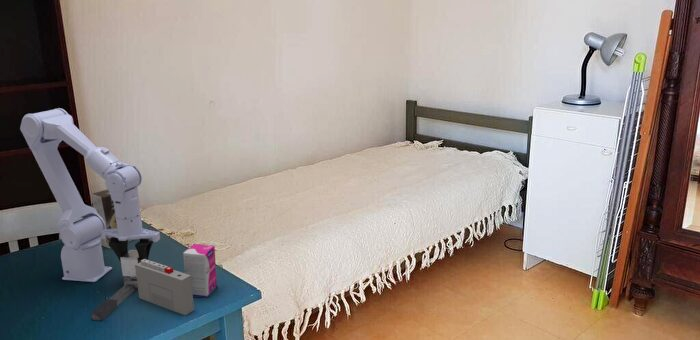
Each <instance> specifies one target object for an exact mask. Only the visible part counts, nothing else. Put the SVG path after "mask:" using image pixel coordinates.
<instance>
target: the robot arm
mask: <svg viewBox="0 0 700 340" xmlns="http://www.w3.org/2000/svg"><path fill="white" fill-rule="evenodd" d="M74 123H75V122H74V119H73V116H72V115H71V114H69V113H68V112H67V111H66V110H65V109H64V108H60V107H58V108H57V107H56V108H54V109H49V110H45V111H40V112H34V113H27V114H25V115H24V116H23V117H22V119H21V123H20V127H19V129H20V132H21V133H22V135H23V137H24V139H25V142H26V143H27V146H28V147H29V150H30V151H31V152H32V154H33V156H34V158H35V161H36V162H37V164H38V167H39V168H40V171H41V172H42V175H43V176H44V178H45V180H46V182H47V184H48V187H49V189H50V190H51V192H52V195H53V197H54V198H55V200H56V202H57V204H58V206H59V208H60V210H61V212H62V215H61V216H60V218H59V220H58V222H57V223H56V224H57V227H58V230H59V234H60V239H61V241H62V243H63V244H64V245H63V246H62V248H61V252H60V259H61V267H62V271H63V277H62V278H61V279H62V280H64V281H75V282H77V281H78V282H87V283H88V282H89V283H95V282H97V281H99V280H100V279H101V278H102V277H104V276H105V275H106V274H107V273H108V272H110V271H111V270H113V266H105V261H104V252H103V248H102V245H101V240H102V239H107V238H111V241H110V242H109V243H108V244H109V247H111V250H112V251H113V252H114V254H115V255H116V257H117V259H118V261H119V264H121V259H120V257H121V256H122V255H124V254H125V253H127V252H128V251H129V250H128V248H129V247H128V246H129V245H128V244H129V242H128V239H133V240H132V241H138V242H136V243H134V248H135V250H137V252H138V255H139V260H140V262H141V260H143V259H146V260H149V257H150V253H151V249H152V246H153V244H154V243H157V242H158V241H160V240H161V233H160V231H156V230H155V231H154V230H150V229H146V228H143V220H142V215H141V206H140V198H139V190H138V187H139V186H140V185H141V184H142V181H143V180H142V179H143V177H142V173H141V171H140V170H139V168H137V167H136V166H135V165H134V164H130V163H129V164H127V163H126V162H122V161H121V160H120V159H119V158H117V157H116V156H115V154H113V153H112V152H110V150H109V149H108V148H107V147H104V146H96V145H95V144H94V142H92V141H91V140H90V139H89V138H88V137H87V136H86V135H85V134H84V133H83V132H82V131H81V130H80V129H79V128H78V127H77V126H76V125H75V124H74ZM62 141H63V142H65V144H67V145H68V146H70V147H71V148H72V149H74V150H75V151H76V152H78V153H80V154H81V155H82V156H84V157H85V164H86V165H87V166H88V167H89V168H90V169H91V170H92V171H94V172H95V173H96V174H98V176H99V177H101V178H102V179H103V180H104V184H105V185H104V186H105V187H106V190H107V189H108V190H109V192H110V195H111V198H112V200H113V201H114V208H115V215H116V223H117V229H106V224H105V222H104V220H103V219H102V217H101V216H100V215H99V214H98V213H97V211H96V209H95V208H93V206H90V205H87V204H85V203H84V201H83V198H82V196H81V194H80V192H79V190H78V188H77V186H76V185H75V182H74V181H73V179H72V177H71V175H70V173H69V170H68V169H67V166H66V164H65V162H64V160H63V158H62V156H61V155H60V152H59V150H58V147H59V145H60V143H61V142H62ZM80 218H81V219H80ZM78 219H79V220H78ZM76 220H77V221H76Z"/></svg>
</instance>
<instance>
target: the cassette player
mask: <svg viewBox="0 0 700 340" xmlns="http://www.w3.org/2000/svg"><path fill="white" fill-rule="evenodd" d="M135 269H136V277H137V284H138V290H137V292H138V298H139V299H140V300H144V301H146V302H148V303H151V304H154V305H157V306H159V307H162V308H164V309H167V310H169V311H173V312H176V313H177V314H181V315H182V316H188V314H190V313H192V312H193V311H195V305H194V296H193V293H192V283H191V275H188V274H185V272H182V271H178V270H175V269H174V268H173V267H170V266H168V265H165V264H161V263H159V262H155V261H151V260H149V259H148V260H146V259H143V260H141V262H140V263H138V264H136V265H135Z"/></svg>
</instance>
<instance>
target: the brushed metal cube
mask: <svg viewBox="0 0 700 340" xmlns="http://www.w3.org/2000/svg"><path fill="white" fill-rule="evenodd" d="M120 259H121V263H120V265H121V266H120V267H121V272H122V277H125V276H131V277H136V269H135V265H136V264H138V263H140V260H139V255H138V252H137V249H129V250H128V252H127V253H125V254H124V255H122V256H121V257H120Z"/></svg>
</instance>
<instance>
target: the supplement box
mask: <svg viewBox="0 0 700 340" xmlns="http://www.w3.org/2000/svg"><path fill="white" fill-rule="evenodd" d="M182 256H183V268H184V273H185V274H188V275H191V283H192V293H193V297H198V298H205V299H207V298H208V297H209V296H210V295H211V294H212V292H213V291H215V289H217V287H218V285H217V282H218V281H217V268H216V267H217V265H216V247H215V246H214V245H210V244H209V245H208V244H197V243H193V244H192V245H191V246H190V247H189V248H187V249H186V250H185V251H183V253H182Z"/></svg>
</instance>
